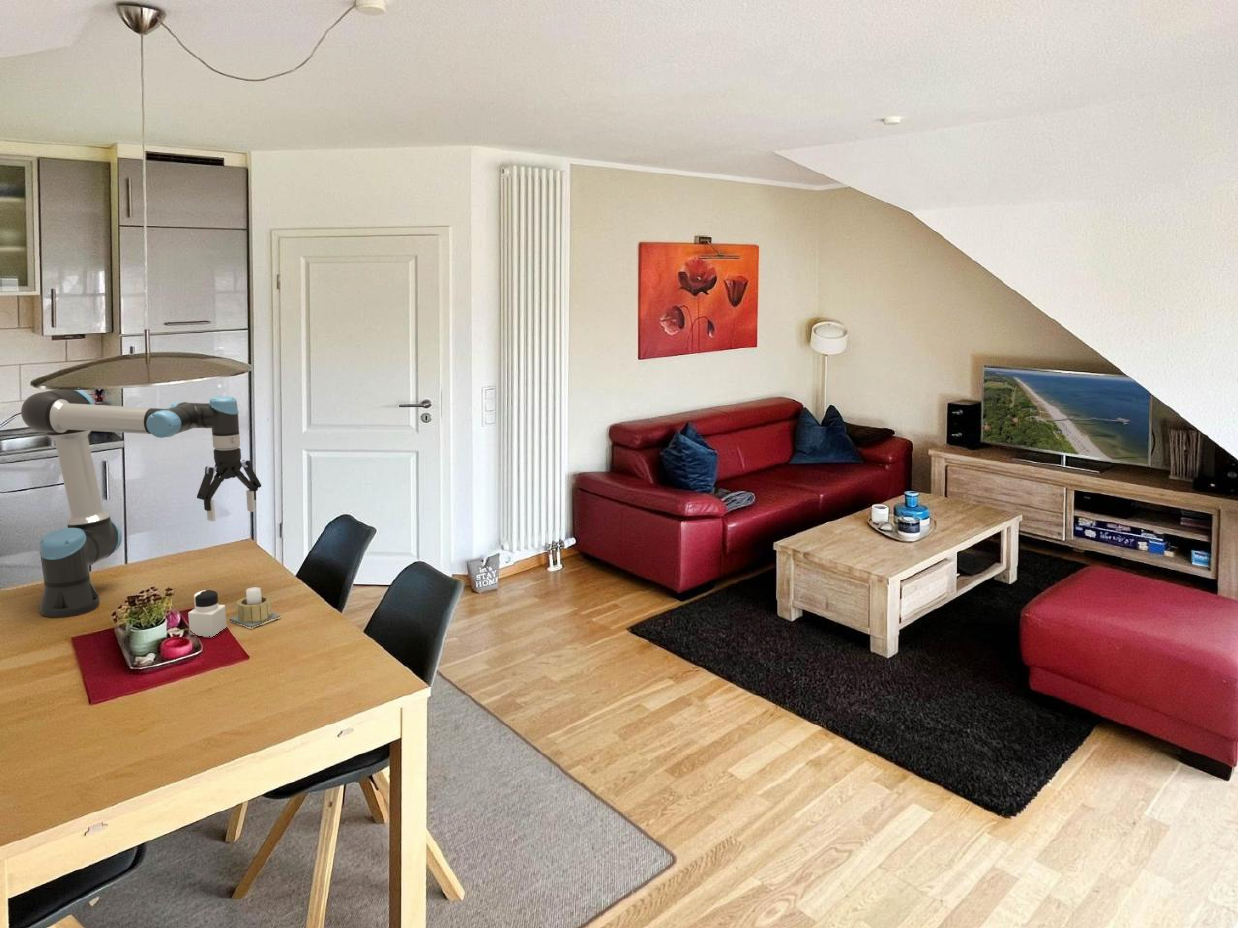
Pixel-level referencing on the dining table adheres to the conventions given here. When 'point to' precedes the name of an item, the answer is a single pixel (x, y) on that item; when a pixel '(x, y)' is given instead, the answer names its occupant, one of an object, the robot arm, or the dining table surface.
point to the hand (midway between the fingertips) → (231, 515)
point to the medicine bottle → (207, 614)
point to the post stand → (253, 599)
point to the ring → (254, 610)
